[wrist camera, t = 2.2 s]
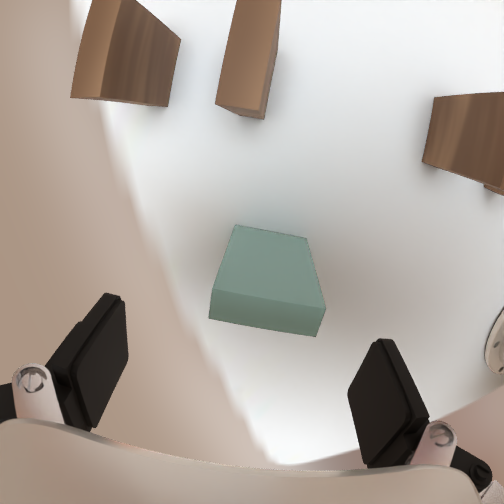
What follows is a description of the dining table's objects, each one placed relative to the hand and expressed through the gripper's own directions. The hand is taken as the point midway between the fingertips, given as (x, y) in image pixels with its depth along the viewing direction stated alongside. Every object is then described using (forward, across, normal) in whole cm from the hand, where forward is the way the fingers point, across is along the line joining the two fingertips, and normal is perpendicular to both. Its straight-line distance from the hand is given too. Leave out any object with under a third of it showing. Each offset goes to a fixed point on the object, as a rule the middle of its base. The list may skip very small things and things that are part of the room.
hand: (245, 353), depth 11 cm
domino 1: (+12, +8, -11) cm, 18 cm away
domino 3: (+12, -1, 0) cm, 12 cm away
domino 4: (+12, -11, -11) cm, 19 cm away
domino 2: (+12, +2, -11) cm, 16 cm away
